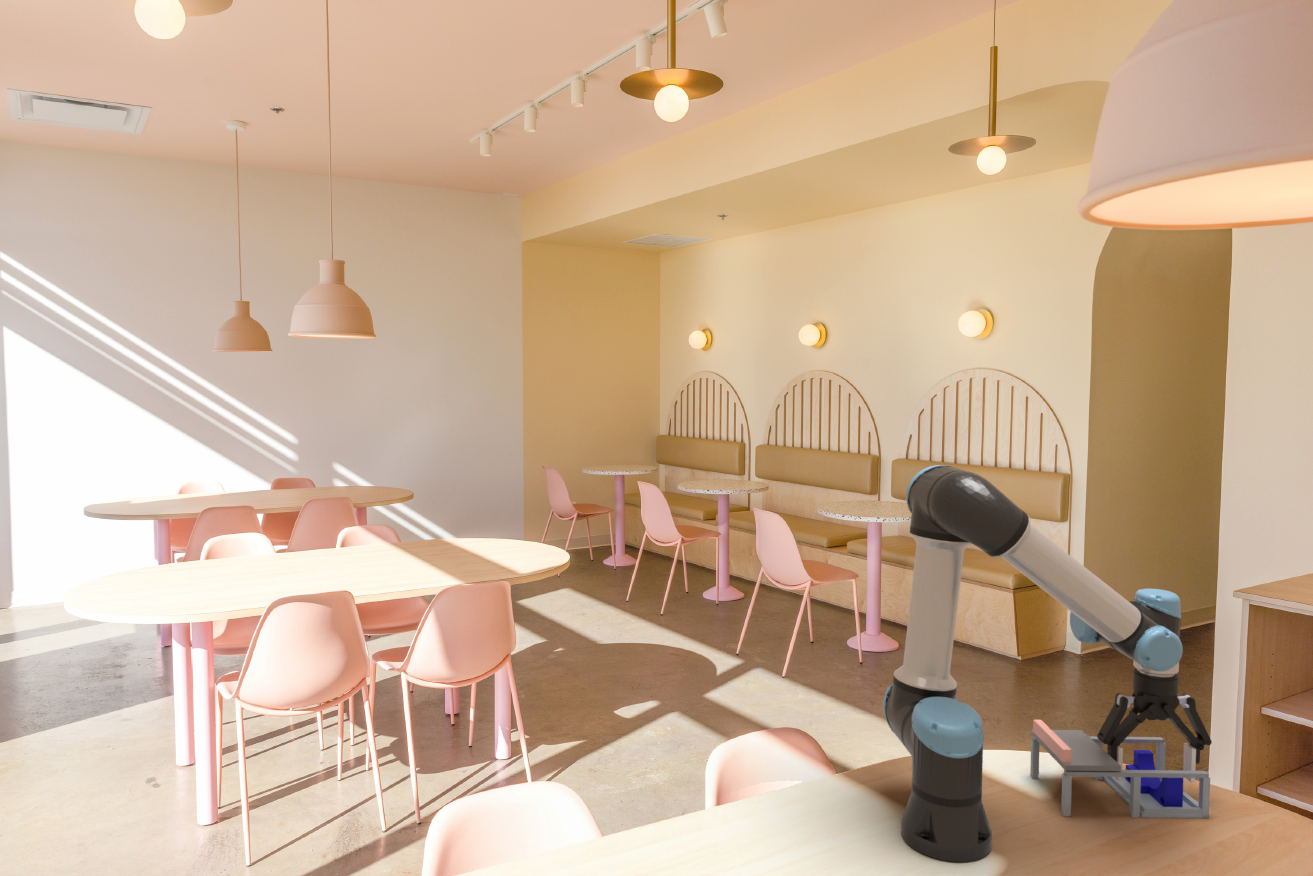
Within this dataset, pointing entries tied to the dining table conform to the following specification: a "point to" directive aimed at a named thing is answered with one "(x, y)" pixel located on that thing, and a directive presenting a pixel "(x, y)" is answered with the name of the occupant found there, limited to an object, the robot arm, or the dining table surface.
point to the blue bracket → (1157, 781)
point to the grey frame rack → (1137, 784)
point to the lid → (1073, 749)
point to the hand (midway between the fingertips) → (1152, 778)
